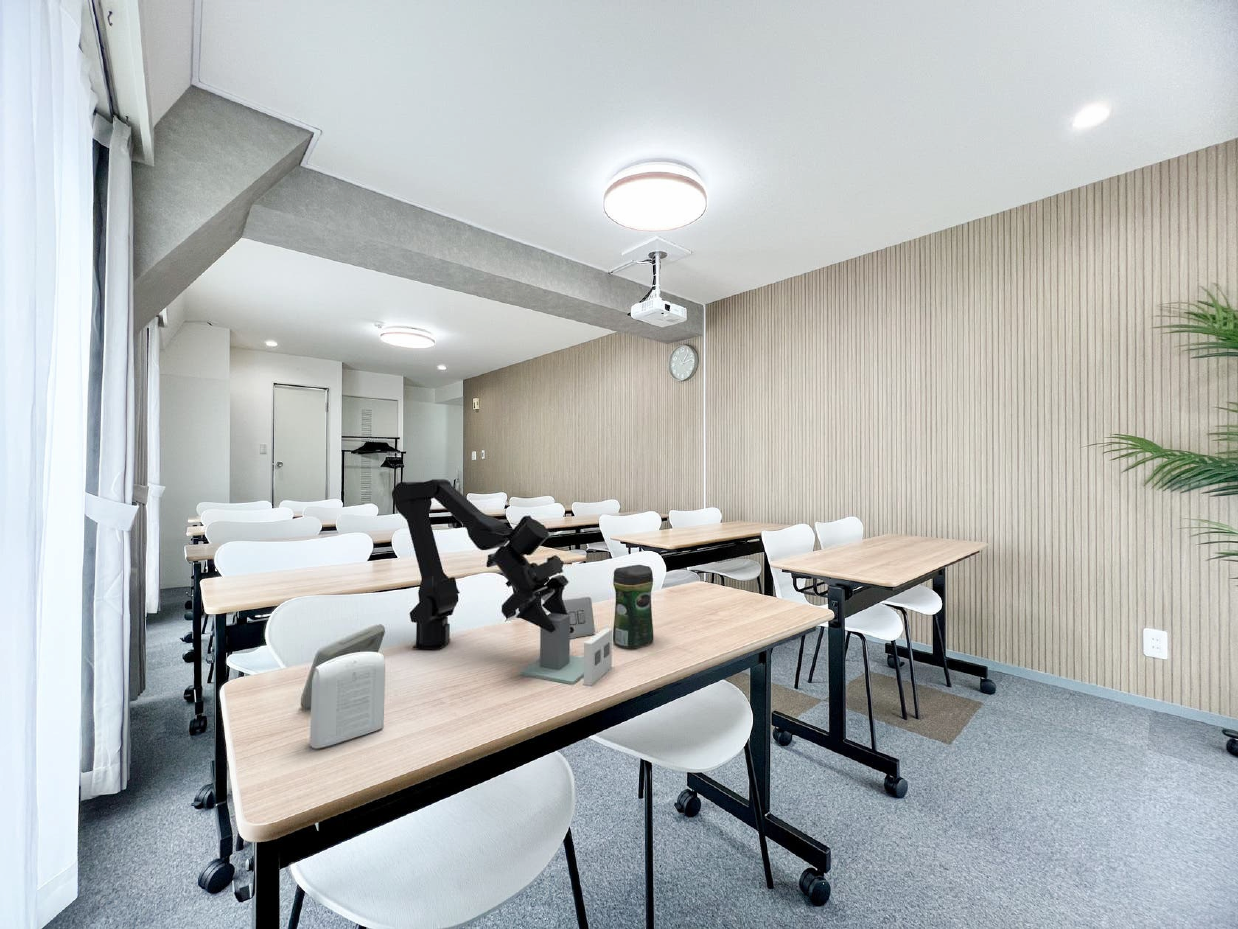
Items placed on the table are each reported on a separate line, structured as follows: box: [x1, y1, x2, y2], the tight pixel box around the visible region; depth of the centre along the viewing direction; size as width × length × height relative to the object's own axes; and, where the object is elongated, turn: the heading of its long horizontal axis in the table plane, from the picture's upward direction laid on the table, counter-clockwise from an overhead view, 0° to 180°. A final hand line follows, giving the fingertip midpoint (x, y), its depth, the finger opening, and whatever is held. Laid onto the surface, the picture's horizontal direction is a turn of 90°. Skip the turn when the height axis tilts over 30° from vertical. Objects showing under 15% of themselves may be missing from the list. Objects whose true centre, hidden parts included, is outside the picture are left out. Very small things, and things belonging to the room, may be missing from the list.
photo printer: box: [309, 651, 386, 750], centre depth 77 cm, size 10×4×12 cm, turn 134°
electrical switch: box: [563, 596, 596, 640], centre depth 126 cm, size 9×5×9 cm, turn 121°
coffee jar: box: [612, 564, 654, 649], centre depth 120 cm, size 10×8×19 cm
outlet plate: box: [583, 627, 613, 687], centre depth 101 cm, size 2×10×8 cm, turn 157°
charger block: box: [539, 612, 571, 670], centre depth 105 cm, size 5×4×10 cm
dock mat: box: [519, 655, 584, 686], centre depth 104 cm, size 12×12×1 cm
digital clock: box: [300, 623, 386, 710], centre depth 92 cm, size 16×9×11 cm, turn 157°
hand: (561, 627), depth 104 cm, fingers open, 6 cm apart
